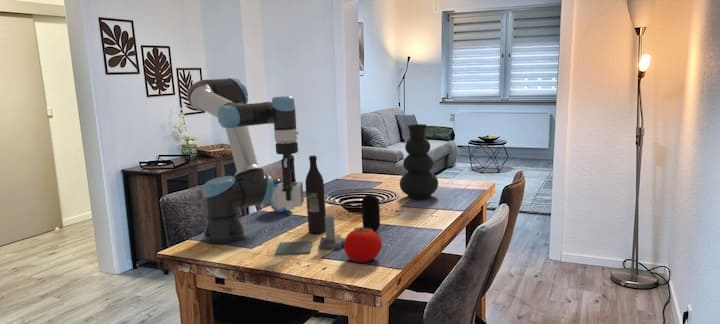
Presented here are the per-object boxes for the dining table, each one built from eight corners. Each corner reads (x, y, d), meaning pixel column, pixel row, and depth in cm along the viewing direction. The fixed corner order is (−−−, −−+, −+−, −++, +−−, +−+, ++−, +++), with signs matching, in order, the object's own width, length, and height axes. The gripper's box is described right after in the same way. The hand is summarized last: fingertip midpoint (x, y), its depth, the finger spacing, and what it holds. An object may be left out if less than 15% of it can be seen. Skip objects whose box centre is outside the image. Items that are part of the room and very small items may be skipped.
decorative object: (378, 229, 198) (376, 191, 195) (382, 234, 191) (380, 195, 189) (361, 230, 197) (359, 193, 194) (364, 235, 190) (362, 196, 188)
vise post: (320, 249, 177) (318, 219, 175) (321, 242, 185) (319, 213, 183) (373, 247, 177) (372, 216, 175) (372, 239, 185) (371, 210, 183)
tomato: (350, 253, 173) (349, 223, 171) (385, 254, 169) (384, 224, 167) (340, 265, 162) (338, 233, 160) (377, 267, 158) (375, 234, 157)
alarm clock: (268, 211, 234) (265, 179, 231) (278, 208, 239) (275, 177, 236) (288, 214, 226) (286, 181, 223) (298, 211, 231) (296, 179, 228)
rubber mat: (275, 255, 174) (274, 253, 174) (279, 244, 186) (279, 242, 186) (309, 253, 174) (309, 251, 174) (312, 242, 186) (312, 240, 186)
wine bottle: (306, 230, 201) (301, 155, 196) (323, 227, 203) (318, 153, 199) (311, 235, 194) (306, 158, 189) (329, 232, 197) (324, 156, 192)
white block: (278, 207, 173) (276, 187, 172) (281, 202, 181) (279, 182, 180) (301, 206, 173) (300, 186, 172) (303, 200, 181) (302, 181, 180)
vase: (444, 194, 248) (442, 123, 242) (428, 203, 233) (426, 127, 227) (410, 191, 258) (408, 123, 252) (393, 200, 243) (390, 127, 237)
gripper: (293, 145, 164) (299, 213, 167) (300, 137, 184) (304, 198, 188) (270, 146, 164) (276, 214, 167) (279, 138, 184) (284, 199, 188)
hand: (291, 206), depth 177 cm, fingers closed on white block, 8 cm apart
